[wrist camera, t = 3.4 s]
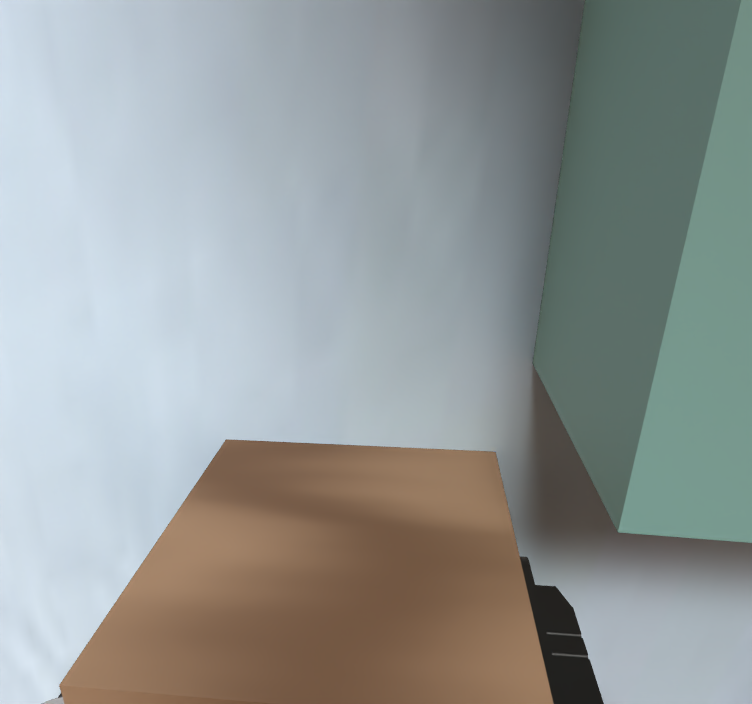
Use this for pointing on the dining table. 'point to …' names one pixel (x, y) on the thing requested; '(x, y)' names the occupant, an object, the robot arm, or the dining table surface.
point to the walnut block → (325, 587)
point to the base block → (657, 266)
